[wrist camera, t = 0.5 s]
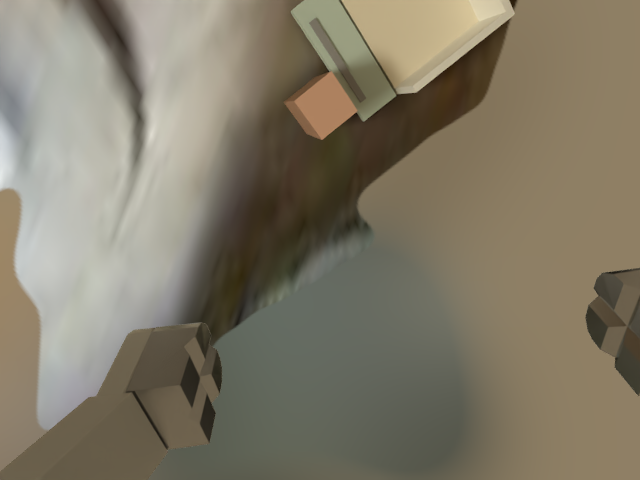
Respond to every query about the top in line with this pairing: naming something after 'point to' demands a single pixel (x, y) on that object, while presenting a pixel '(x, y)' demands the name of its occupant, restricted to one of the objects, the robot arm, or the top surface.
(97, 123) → the top surface
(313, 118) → the terracotta block
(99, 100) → the top surface
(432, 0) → the tray
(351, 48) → the panel
